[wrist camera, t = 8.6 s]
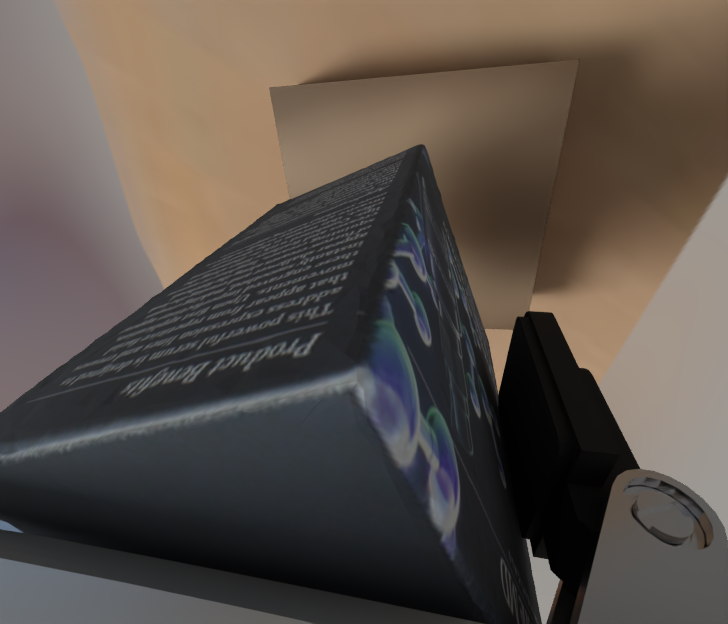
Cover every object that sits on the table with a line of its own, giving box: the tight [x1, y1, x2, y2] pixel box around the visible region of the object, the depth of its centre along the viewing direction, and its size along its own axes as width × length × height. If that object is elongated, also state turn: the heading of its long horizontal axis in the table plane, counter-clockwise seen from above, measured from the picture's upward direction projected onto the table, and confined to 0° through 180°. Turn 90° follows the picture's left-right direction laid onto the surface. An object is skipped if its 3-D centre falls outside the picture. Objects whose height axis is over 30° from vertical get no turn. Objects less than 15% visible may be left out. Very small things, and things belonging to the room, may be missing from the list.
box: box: [0, 144, 542, 624], centre depth 9 cm, size 8×6×11 cm
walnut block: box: [269, 59, 579, 330], centre depth 19 cm, size 12×12×4 cm
